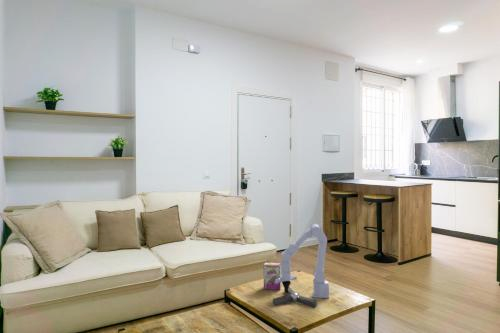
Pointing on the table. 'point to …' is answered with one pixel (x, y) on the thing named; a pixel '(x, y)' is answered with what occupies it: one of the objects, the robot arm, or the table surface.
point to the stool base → (294, 300)
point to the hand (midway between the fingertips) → (286, 292)
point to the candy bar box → (272, 275)
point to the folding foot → (289, 291)
